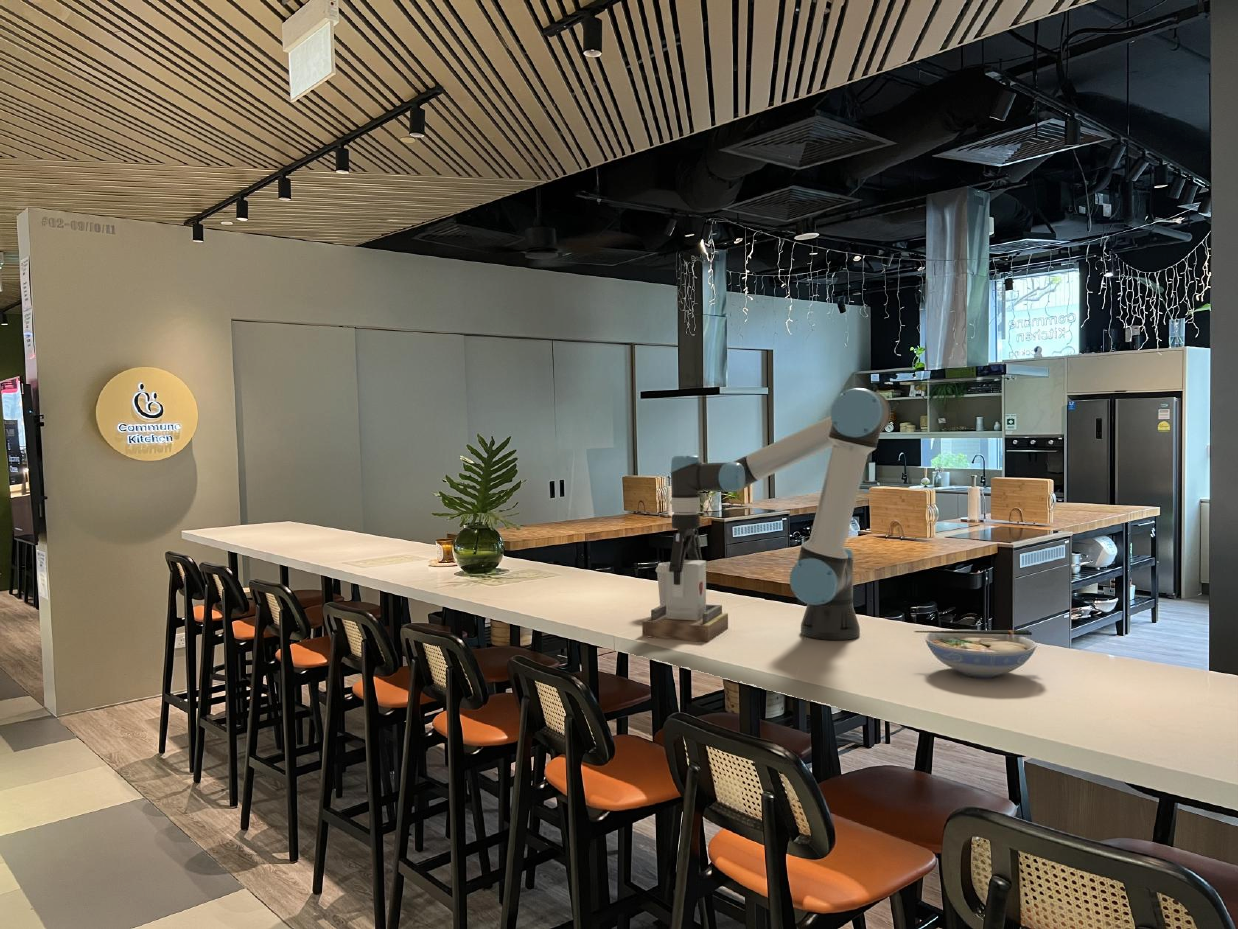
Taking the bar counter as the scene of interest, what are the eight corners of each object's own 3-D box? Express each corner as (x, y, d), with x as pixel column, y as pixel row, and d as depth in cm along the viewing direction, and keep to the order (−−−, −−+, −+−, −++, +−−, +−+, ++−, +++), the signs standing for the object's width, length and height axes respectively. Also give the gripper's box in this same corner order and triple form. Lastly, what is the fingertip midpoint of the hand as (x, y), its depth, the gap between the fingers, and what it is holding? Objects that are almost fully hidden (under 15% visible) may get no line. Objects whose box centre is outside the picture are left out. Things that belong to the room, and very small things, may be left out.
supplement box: (698, 621, 234) (698, 564, 234) (665, 619, 237) (665, 562, 237) (707, 615, 243) (706, 560, 242) (675, 613, 246) (675, 558, 246)
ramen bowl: (930, 686, 186) (930, 646, 186) (910, 659, 208) (910, 624, 208) (1058, 689, 182) (1058, 649, 182) (1023, 662, 205) (1023, 627, 205)
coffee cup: (688, 612, 270) (688, 562, 269) (687, 618, 260) (687, 566, 260) (656, 611, 270) (656, 561, 270) (654, 617, 261) (654, 566, 261)
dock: (728, 628, 245) (728, 604, 245) (708, 642, 228) (708, 616, 228) (665, 623, 252) (665, 600, 252) (642, 636, 235) (642, 611, 235)
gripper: (687, 510, 252) (688, 585, 253) (656, 516, 229) (657, 599, 230) (712, 510, 249) (713, 586, 250) (683, 517, 226) (684, 601, 227)
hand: (686, 593), depth 240 cm, fingers open, 13 cm apart
